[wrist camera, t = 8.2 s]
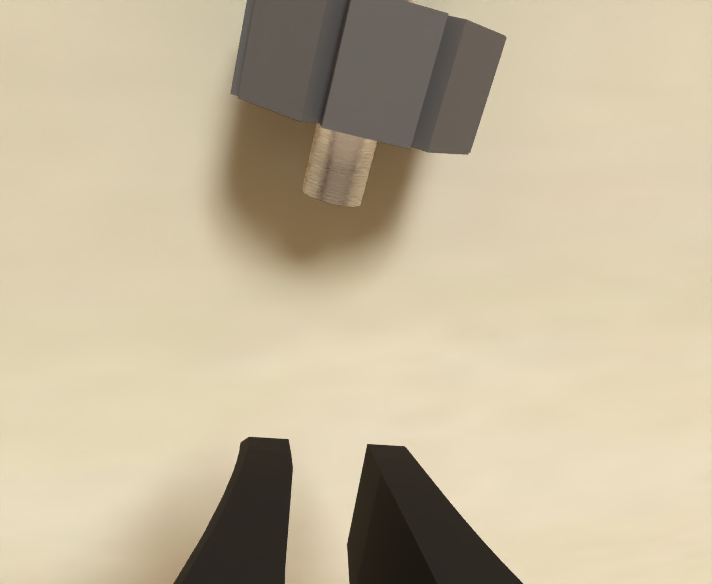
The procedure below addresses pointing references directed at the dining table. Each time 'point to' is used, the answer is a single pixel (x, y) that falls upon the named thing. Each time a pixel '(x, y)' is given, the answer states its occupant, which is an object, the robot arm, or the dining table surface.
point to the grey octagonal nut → (369, 69)
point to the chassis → (338, 166)
